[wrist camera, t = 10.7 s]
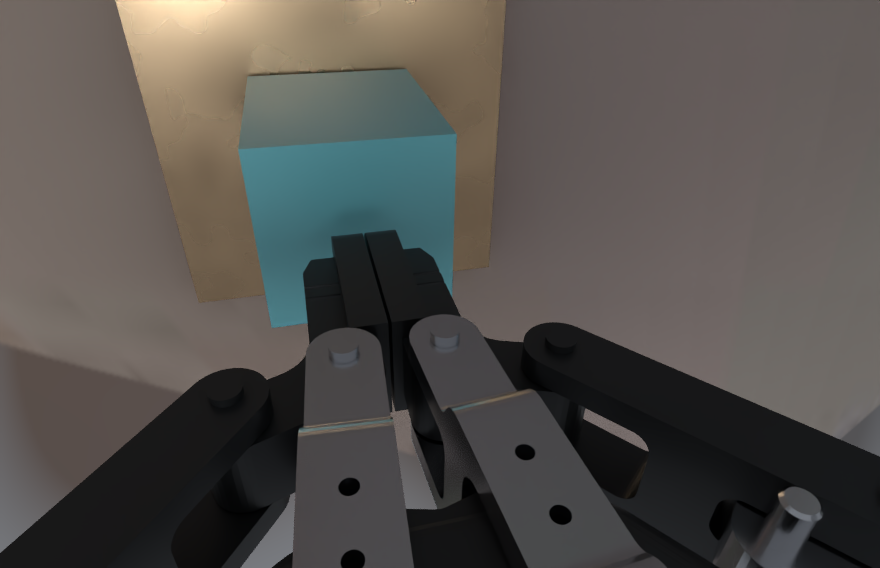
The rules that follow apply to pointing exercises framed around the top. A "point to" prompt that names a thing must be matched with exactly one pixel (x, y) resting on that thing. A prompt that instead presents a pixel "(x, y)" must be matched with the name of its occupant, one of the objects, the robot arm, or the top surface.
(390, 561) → the robot arm
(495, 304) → the top surface
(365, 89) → the turquoise rectangular block
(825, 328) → the top surface
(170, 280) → the top surface
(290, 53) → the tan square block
